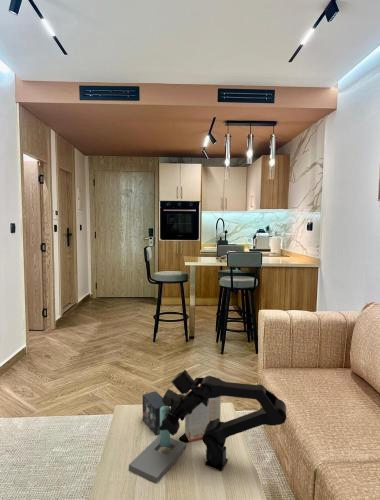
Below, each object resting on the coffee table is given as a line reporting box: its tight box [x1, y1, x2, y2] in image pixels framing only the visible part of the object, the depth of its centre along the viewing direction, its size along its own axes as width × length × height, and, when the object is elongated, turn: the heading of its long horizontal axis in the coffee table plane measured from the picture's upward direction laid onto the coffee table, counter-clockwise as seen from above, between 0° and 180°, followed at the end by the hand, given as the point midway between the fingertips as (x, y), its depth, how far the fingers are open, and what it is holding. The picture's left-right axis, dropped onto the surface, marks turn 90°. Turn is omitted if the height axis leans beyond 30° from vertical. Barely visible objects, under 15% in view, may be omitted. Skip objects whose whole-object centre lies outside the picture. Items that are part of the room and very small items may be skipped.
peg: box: [159, 406, 171, 448], centre depth 126 cm, size 4×4×14 cm
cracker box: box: [184, 384, 222, 442], centre depth 137 cm, size 14×6×21 cm, turn 108°
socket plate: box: [128, 434, 187, 484], centre depth 123 cm, size 12×20×2 cm, turn 151°
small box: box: [142, 390, 167, 436], centre depth 144 cm, size 13×7×12 cm, turn 33°
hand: (161, 425), depth 127 cm, fingers closed on peg, 4 cm apart
